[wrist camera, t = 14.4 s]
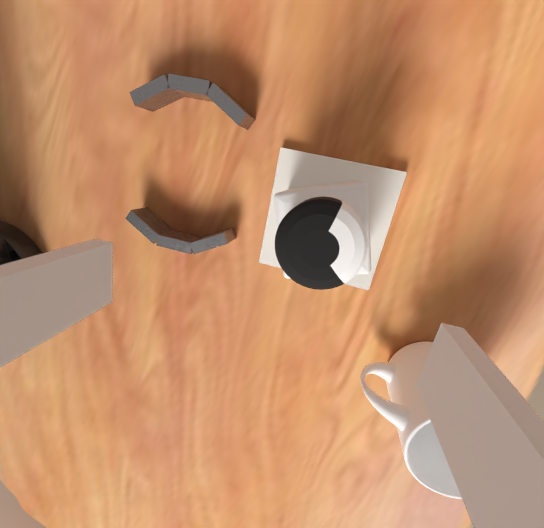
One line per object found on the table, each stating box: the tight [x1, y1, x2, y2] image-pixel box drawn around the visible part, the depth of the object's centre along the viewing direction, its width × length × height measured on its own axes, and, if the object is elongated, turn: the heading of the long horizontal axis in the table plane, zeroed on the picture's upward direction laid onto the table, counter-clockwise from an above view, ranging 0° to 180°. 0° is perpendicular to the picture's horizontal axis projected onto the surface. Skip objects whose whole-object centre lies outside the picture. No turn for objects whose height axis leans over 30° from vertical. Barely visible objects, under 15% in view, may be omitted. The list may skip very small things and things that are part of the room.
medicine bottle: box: [274, 180, 371, 289], centre depth 24 cm, size 7×7×12 cm
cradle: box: [125, 73, 255, 254], centre depth 31 cm, size 12×16×3 cm
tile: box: [259, 148, 407, 290], centre depth 30 cm, size 12×12×1 cm
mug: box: [361, 341, 462, 499], centre depth 28 cm, size 9×12×11 cm
